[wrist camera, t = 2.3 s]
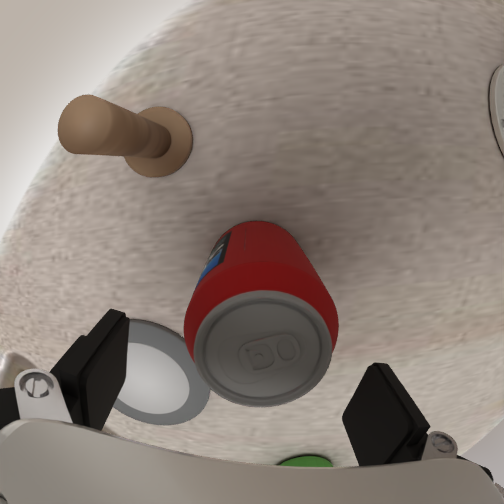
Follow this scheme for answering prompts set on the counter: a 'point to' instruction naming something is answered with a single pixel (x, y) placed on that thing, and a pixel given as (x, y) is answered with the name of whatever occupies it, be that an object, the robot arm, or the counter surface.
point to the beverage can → (260, 318)
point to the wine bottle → (307, 462)
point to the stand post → (127, 134)
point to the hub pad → (160, 377)
